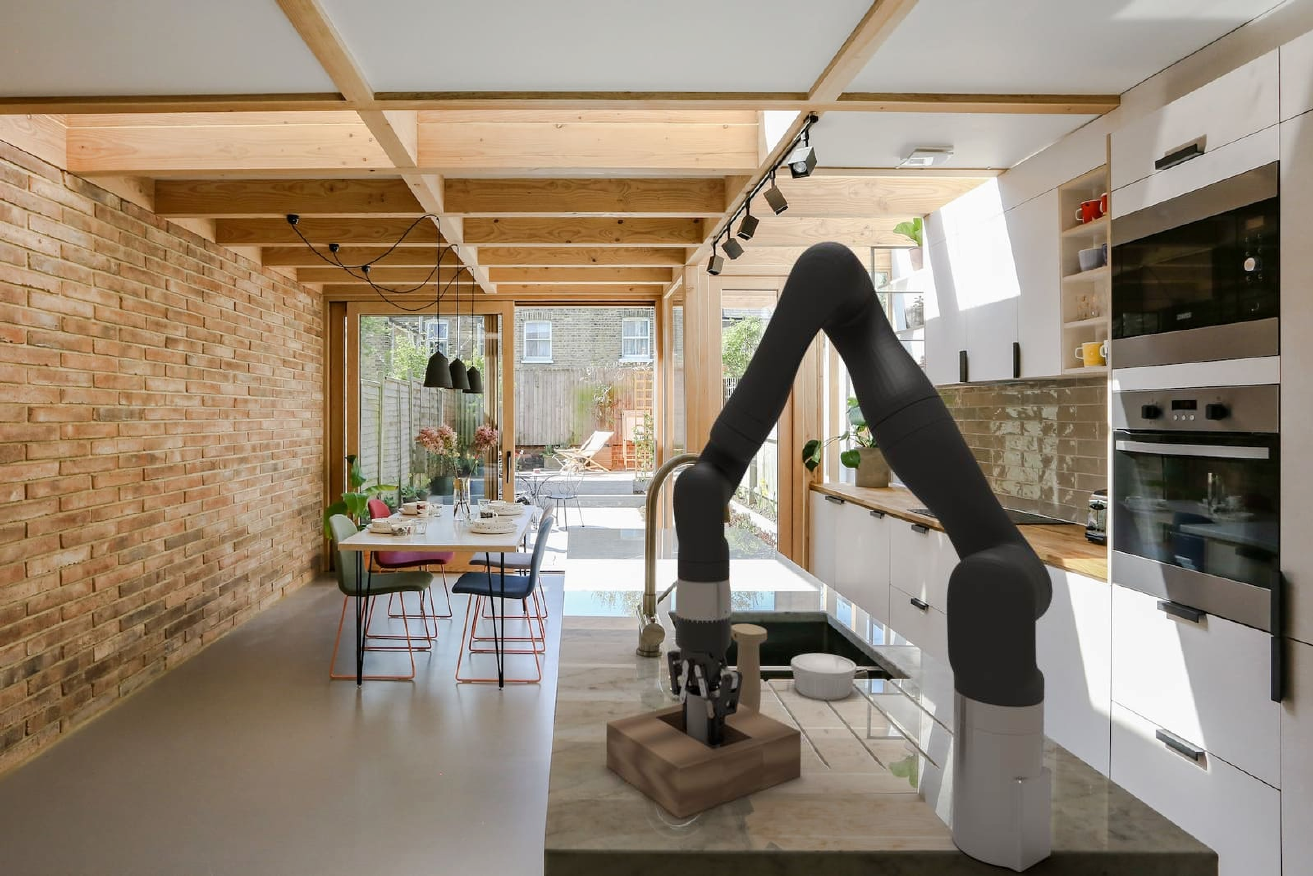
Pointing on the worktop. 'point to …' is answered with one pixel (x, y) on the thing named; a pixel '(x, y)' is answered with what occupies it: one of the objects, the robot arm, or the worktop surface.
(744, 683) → the handle
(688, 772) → the well block
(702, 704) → the grey cylinder
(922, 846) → the worktop surface
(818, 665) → the ramekin
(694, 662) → the robot arm
